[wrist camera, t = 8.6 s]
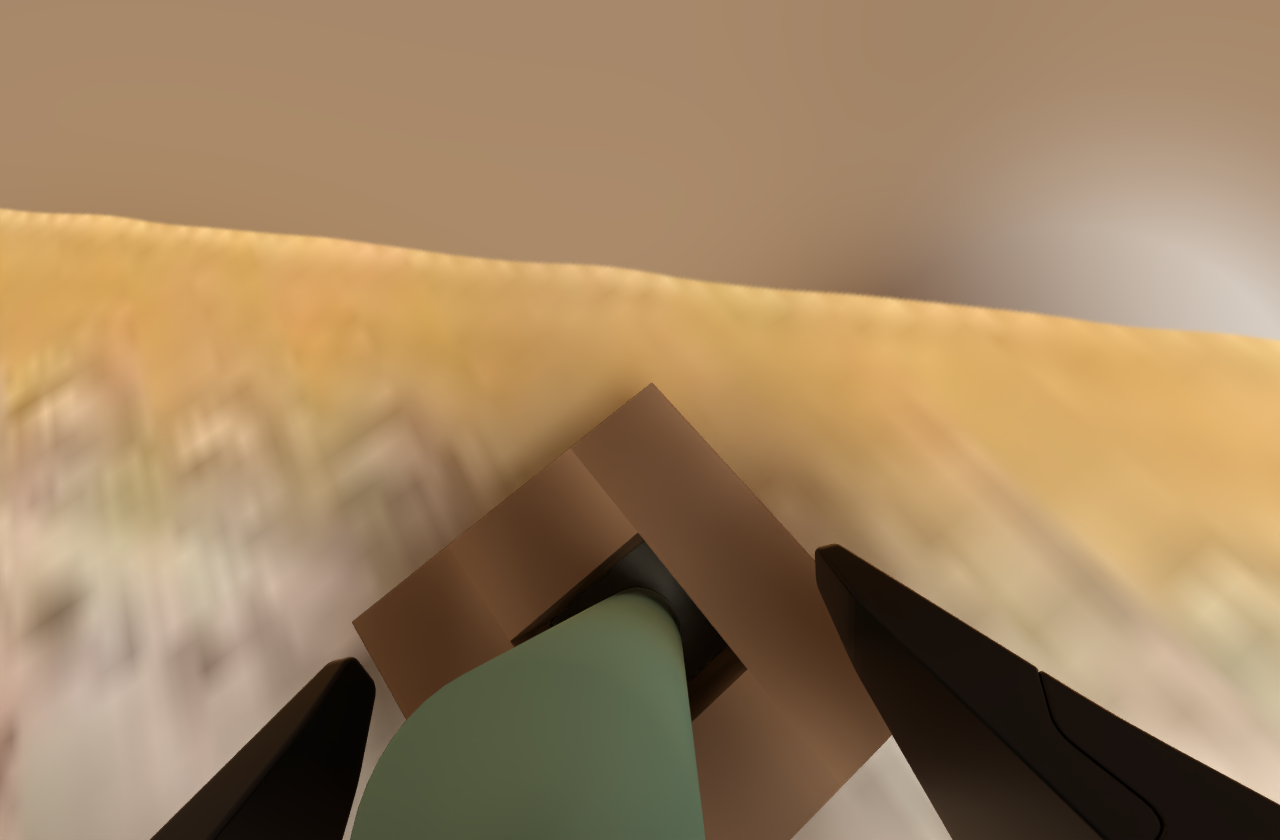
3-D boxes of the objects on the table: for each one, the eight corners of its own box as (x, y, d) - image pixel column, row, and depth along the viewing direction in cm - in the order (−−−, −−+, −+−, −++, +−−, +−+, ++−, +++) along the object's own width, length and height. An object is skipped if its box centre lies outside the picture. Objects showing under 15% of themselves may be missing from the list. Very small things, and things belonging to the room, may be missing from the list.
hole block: (611, 914, 14) (589, 1046, 10) (424, 608, 17) (351, 622, 13) (869, 660, 16) (934, 691, 12) (656, 419, 18) (652, 382, 15)
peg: (657, 699, 16) (599, 1224, 3) (579, 653, 16) (271, 952, 4) (694, 612, 16) (766, 768, 4) (618, 572, 17) (470, 597, 4)
